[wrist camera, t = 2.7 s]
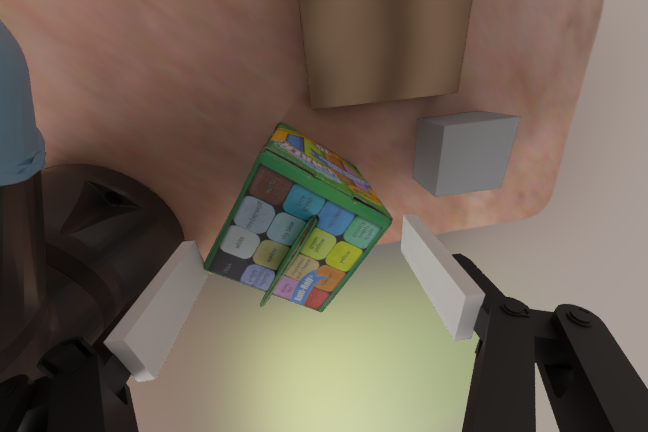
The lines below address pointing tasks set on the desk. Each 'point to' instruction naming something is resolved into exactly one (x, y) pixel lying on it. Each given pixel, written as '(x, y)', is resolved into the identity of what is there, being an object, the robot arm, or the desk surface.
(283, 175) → the chalk box
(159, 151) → the desk surface
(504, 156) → the grey block
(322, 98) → the block
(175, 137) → the desk surface
